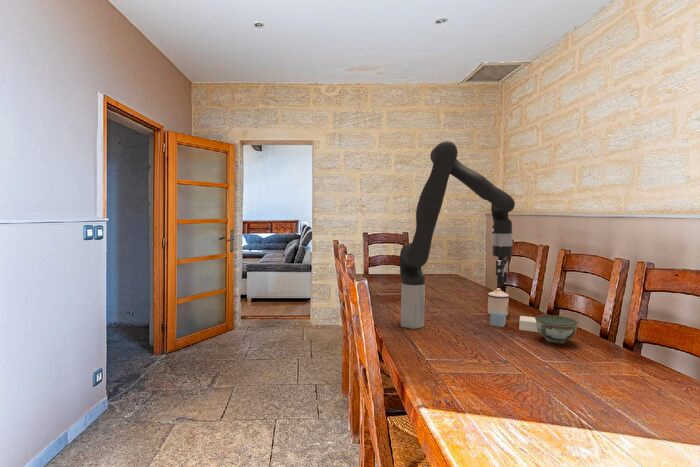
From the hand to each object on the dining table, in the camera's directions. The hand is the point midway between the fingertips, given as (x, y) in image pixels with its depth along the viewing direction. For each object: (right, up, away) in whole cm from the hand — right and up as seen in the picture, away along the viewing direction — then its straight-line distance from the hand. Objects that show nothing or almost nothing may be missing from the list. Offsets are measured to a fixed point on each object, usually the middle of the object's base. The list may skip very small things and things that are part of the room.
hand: (502, 283), depth 158 cm
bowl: (+11, -18, -20) cm, 29 cm away
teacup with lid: (+5, -16, +19) cm, 25 cm away
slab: (+9, -17, -5) cm, 20 cm away
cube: (-2, -17, 0) cm, 17 cm away
